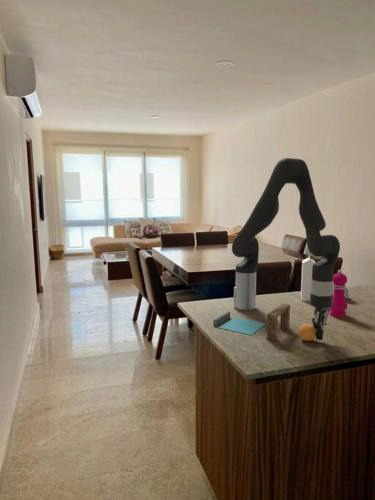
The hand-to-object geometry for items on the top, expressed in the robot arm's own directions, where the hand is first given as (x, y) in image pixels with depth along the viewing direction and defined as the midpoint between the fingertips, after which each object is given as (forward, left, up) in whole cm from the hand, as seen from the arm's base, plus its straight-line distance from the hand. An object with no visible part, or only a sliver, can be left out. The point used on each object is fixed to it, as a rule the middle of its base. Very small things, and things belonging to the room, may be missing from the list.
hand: (319, 339), depth 133 cm
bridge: (-15, -1, -1) cm, 15 cm away
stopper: (-39, -1, -1) cm, 40 cm away
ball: (-4, -1, +2) cm, 5 cm away
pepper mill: (-1, +33, -1) cm, 34 cm away
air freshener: (-7, +59, -1) cm, 60 cm away
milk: (-19, +49, -1) cm, 53 cm away
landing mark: (-30, -1, -1) cm, 30 cm away
